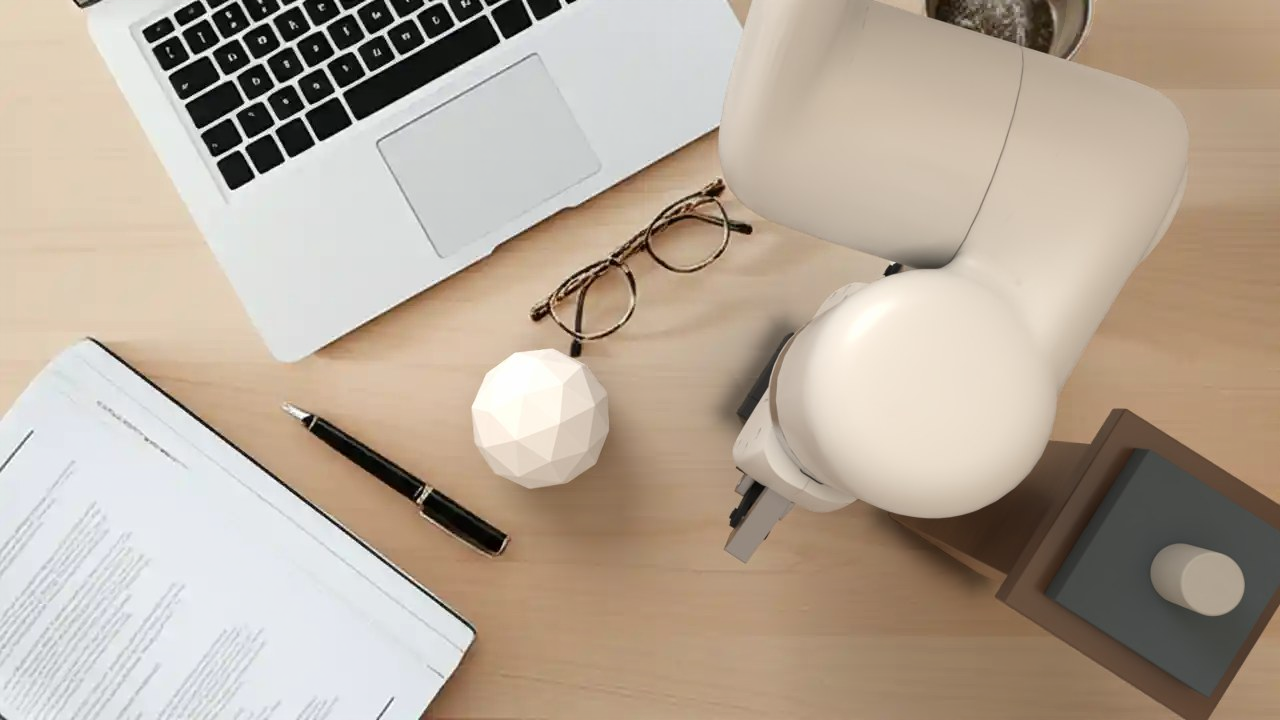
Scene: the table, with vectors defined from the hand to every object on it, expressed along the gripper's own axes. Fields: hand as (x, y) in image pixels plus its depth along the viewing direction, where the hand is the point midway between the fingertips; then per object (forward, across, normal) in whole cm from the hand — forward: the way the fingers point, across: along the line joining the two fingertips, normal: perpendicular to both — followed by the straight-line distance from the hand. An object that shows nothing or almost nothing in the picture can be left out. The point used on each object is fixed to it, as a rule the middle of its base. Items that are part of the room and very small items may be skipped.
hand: (811, 403), depth 62 cm
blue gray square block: (-22, 0, +11) cm, 25 cm away
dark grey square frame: (+6, 0, 0) cm, 6 cm away
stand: (+6, 0, +11) cm, 12 cm away
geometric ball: (+6, +9, -12) cm, 16 cm away
